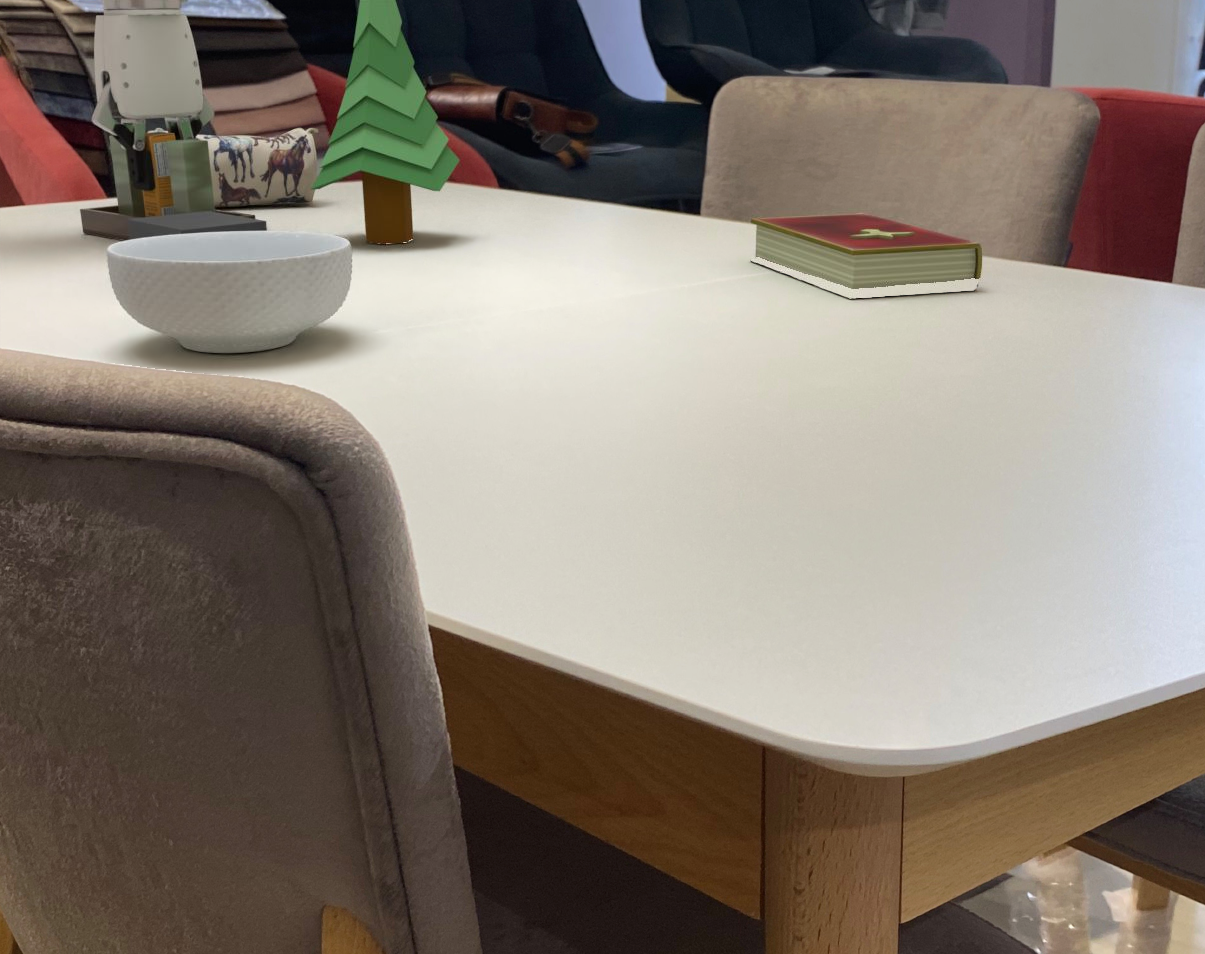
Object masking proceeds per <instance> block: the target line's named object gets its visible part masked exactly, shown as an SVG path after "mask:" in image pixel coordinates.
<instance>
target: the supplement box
mask: <svg viewBox="0 0 1205 954" xmlns="http://www.w3.org/2000/svg"><path fill="white" fill-rule="evenodd" d="M174 134H175V133H166V132H152V133H148V132H145V150H149V151H150V153H151V157H152V165H153V174H154V182H155V189H154V190H152V191H145V190H142V192H143V199H144V206H145V214H146V217H153V216H163V215H173V214H175V213H174V205H173V196H172V187H171V178H170V170H169V161H168V152H167V143H166V141H172V140H175V135H174Z"/></svg>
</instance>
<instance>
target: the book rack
mask: <svg viewBox="0 0 1205 954" xmlns="http://www.w3.org/2000/svg"><path fill="white" fill-rule="evenodd" d="M108 138H109V144H110V145H109V147H110V152H111V153H110V154H111V160H112V168H113V177H114V184H115V193H116V200H117V205H116V204H115V205H107V206H106V205H105V206H97V207H88V208H80V209H79V213H80V220H81V229H82V233H83V234H84V235H90V236H94V237H95V236H97V237H102V238H107V239H112V240H113V239H114V240H119V241H126V240H130V239H129V232H128V224H127V219H133V218H143V217H146V214H145V206H144V199H143V192H142V190H137V189H134V187H133V182H132V181H131V178H130V172H129V164H128V156H127V150H125V149H123V148H122V147H121V144H120V143H119V142H118V141H117V140H116V139H115V138H114V137H113V136H112V135H109V137H108ZM166 143H167V152H168V161H169V170H170V178H171V187H172V196H173V205H174V213H175V214H183V213H194V212H204V211H212V212H217V213H223V214H229V215H235V216H240V217H246V218H252V219H256V214H251V213H243V212H235V211H230V210H229V211H228V210H221V209H216V208H215V206H214V197H213V187H212V178H211V168H210V158H209V149H208V141H207V140H196V139H185V140H172V141H166Z"/></svg>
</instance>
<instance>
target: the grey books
mask: <svg viewBox="0 0 1205 954" xmlns="http://www.w3.org/2000/svg"><path fill="white" fill-rule="evenodd" d="M127 224H128V232H129V239H130V240H132V239H138V238H146V237H154V236H164V235H176V234H189V233H205V232H230V231H268V225H267V220H264V219H257V218H255V219H252V218H246V217H240V216H235V215H229V214H223V213H217V212H212V211H204V212H194V213H183V214H173V215H163V216H153V217H143V218H133V219H127Z"/></svg>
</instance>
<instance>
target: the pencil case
mask: <svg viewBox="0 0 1205 954" xmlns="http://www.w3.org/2000/svg"><path fill="white" fill-rule="evenodd" d="M152 132H166V133H168V130H164V129H163V128H161V127H156V128H155V129H154V130H148V131H147V133H152ZM317 133H319V129H318V128H314V127H309V128H308V129H306V130H305V129H304V128H302V127H297V128H294V129H291V130H289V131H287V132H285V133H282V134H281V133H280V134H277V135H273V136H272V135H271V136H256V135H242V134H241V135H211V134H198V135H197V136H196V138H195V139H196V140H207V141H208V149H209V158H210V168H211V178H212V187H213V197H214V206H215V209H216V208H231V207H232V208H234V207H248V206H252V205H254V206H255V205H257V206H267V205H277V204H288V203H290V204H303V203H304V204H307V203H312V202H313V200H314V196H315V193H316V189H311V187H312V186H313V184H314V182H315V180H316V179H317V177H318V157H317V150H316V144H315V140H314V135H315V134H317ZM310 189H311V190H310Z"/></svg>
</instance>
